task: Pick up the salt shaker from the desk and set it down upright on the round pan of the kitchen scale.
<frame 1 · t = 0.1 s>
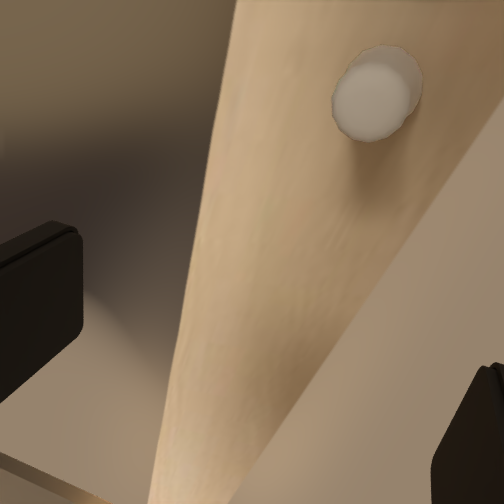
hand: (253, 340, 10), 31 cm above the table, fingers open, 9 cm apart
salt shaker: (383, 85, 36), on the table
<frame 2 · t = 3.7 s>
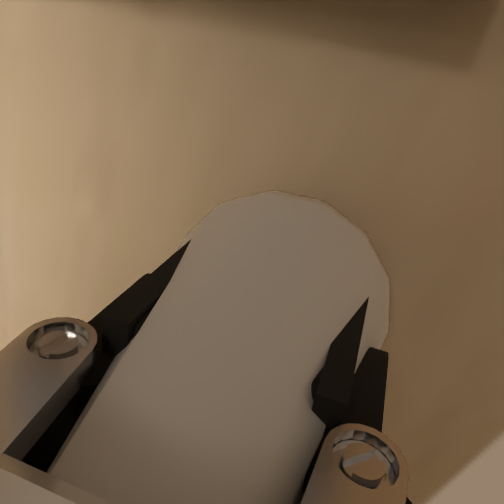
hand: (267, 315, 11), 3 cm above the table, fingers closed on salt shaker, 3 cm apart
salt shaker: (298, 259, 14), on the table, touching gripper
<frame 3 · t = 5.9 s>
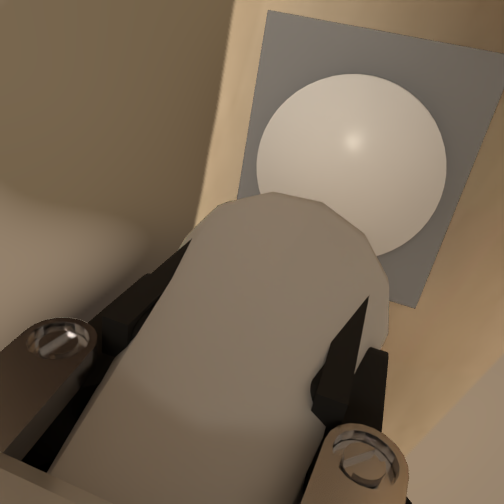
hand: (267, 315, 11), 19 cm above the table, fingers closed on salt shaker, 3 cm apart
scale: (353, 159, 28), on the table
salt shaker: (298, 260, 14), point 15 cm above the table, touching gripper
when the fingers open (8 cm above the table, at t = 8.5 s): salt shaker stays where it is, resting on scale.
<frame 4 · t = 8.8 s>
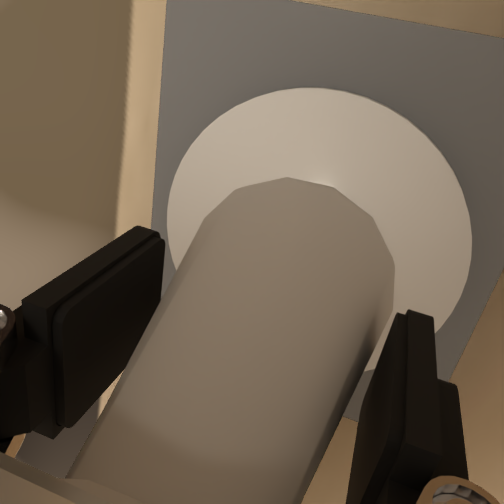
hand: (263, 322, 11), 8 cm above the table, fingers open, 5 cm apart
scale: (324, 212, 18), on the table
salt shaker: (306, 244, 15), point 4 cm above the table, touching scale
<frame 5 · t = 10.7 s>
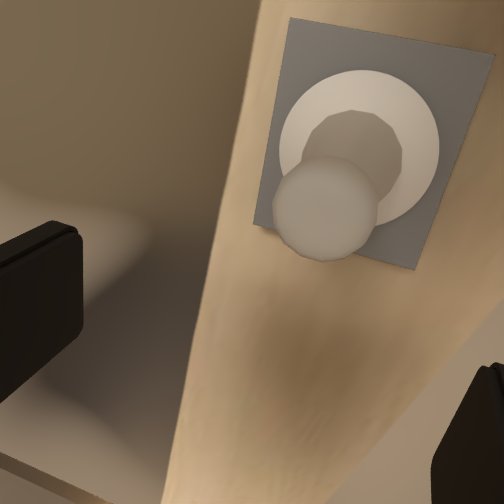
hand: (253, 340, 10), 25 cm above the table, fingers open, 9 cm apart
scale: (361, 143, 32), on the table
salt shaker: (356, 152, 29), point 4 cm above the table, touching scale
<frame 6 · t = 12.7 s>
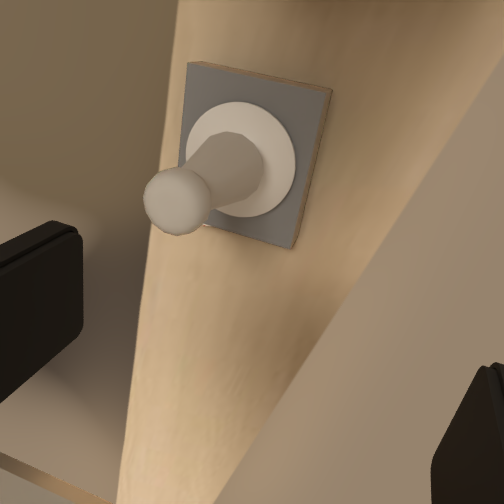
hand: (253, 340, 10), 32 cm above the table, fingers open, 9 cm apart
scale: (251, 153, 43), on the table
salt shaker: (239, 160, 39), point 4 cm above the table, touching scale
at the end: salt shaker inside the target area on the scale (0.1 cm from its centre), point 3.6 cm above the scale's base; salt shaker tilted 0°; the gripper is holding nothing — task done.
